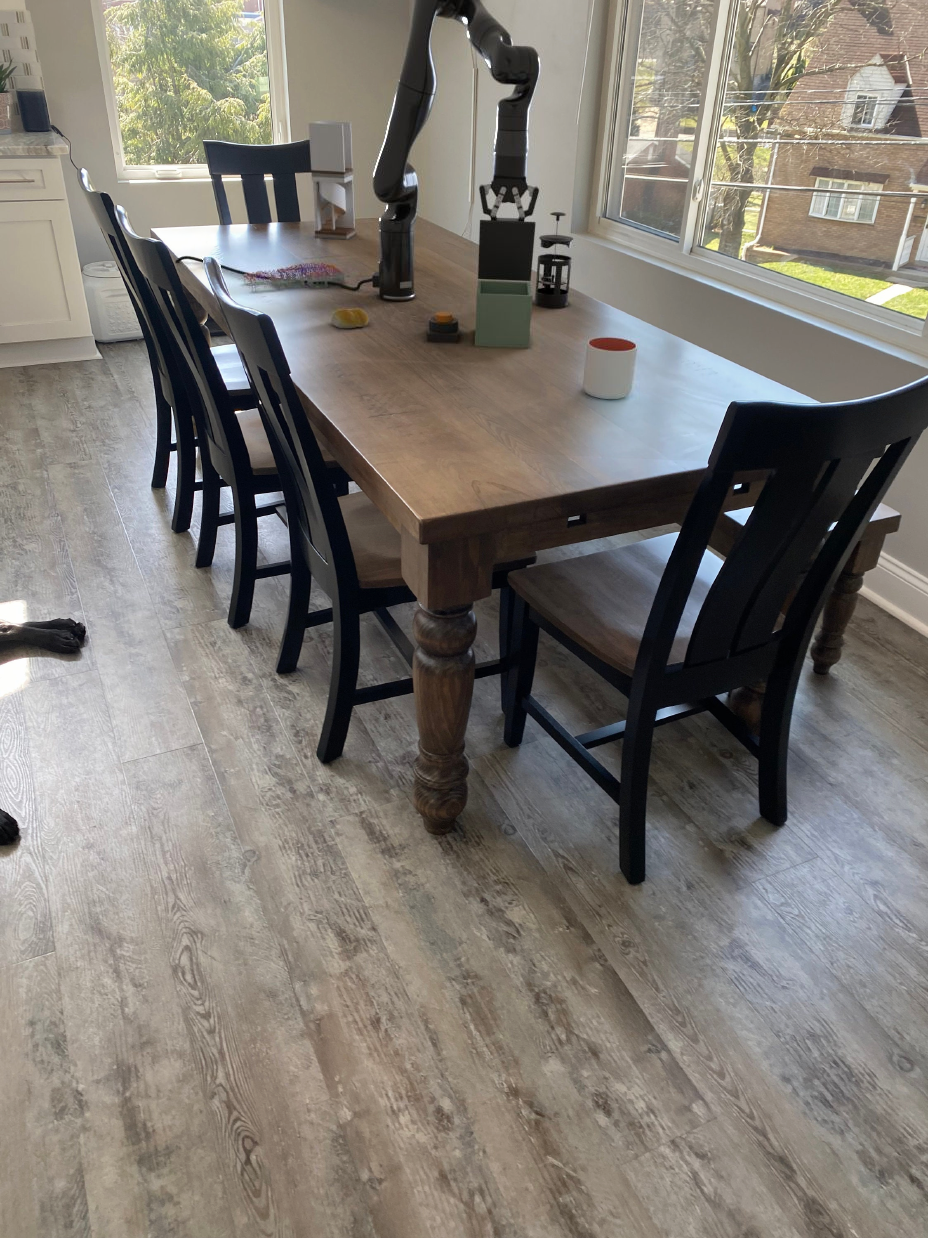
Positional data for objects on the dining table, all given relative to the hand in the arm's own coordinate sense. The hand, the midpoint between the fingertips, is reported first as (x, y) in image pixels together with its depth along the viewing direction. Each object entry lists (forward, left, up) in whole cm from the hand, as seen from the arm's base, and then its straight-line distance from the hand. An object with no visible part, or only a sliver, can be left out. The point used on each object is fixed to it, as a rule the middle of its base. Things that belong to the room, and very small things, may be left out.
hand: (506, 234), depth 206 cm
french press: (+14, +30, -22) cm, 40 cm away
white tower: (-58, +114, -22) cm, 130 cm away
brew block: (-14, -6, -22) cm, 27 cm away
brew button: (-14, -6, -19) cm, 24 cm away
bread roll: (-37, +1, -22) cm, 44 cm away
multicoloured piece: (-58, +40, -22) cm, 74 cm away
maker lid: (0, -2, -3) cm, 4 cm away
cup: (+22, -42, -22) cm, 52 cm away
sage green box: (0, -6, -22) cm, 23 cm away
